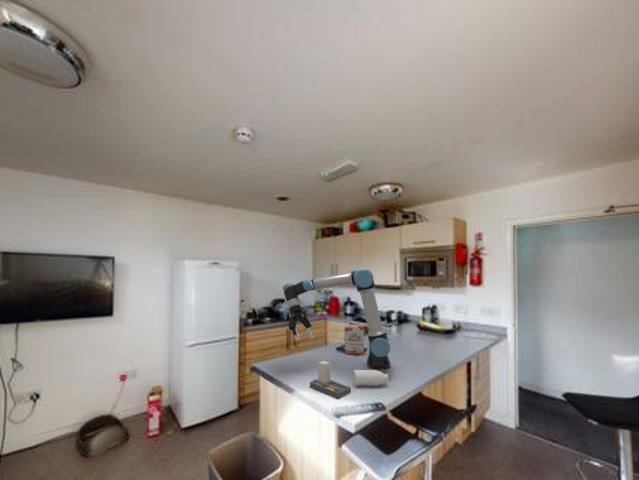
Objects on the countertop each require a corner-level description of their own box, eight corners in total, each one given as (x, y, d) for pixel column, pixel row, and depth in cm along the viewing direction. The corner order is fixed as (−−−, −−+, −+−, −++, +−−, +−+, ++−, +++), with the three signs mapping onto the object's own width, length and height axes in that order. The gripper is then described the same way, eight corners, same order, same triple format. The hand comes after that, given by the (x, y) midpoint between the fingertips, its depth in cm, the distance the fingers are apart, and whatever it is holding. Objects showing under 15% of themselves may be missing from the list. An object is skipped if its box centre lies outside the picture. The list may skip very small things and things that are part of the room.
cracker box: (345, 354, 204) (344, 325, 207) (345, 352, 210) (345, 324, 213) (364, 355, 202) (363, 326, 204) (364, 352, 208) (363, 324, 210)
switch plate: (309, 387, 148) (309, 380, 148) (322, 381, 155) (322, 375, 156) (338, 399, 134) (338, 391, 135) (350, 392, 142) (350, 385, 142)
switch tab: (318, 381, 148) (318, 362, 149) (323, 379, 151) (323, 360, 152) (325, 384, 145) (325, 364, 146) (330, 382, 148) (330, 362, 149)
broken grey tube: (390, 388, 146) (389, 373, 147) (354, 388, 146) (354, 373, 147) (386, 382, 154) (386, 367, 155) (353, 382, 154) (352, 367, 155)
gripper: (301, 309, 187) (311, 340, 178) (277, 309, 167) (286, 343, 158) (310, 304, 184) (320, 335, 175) (285, 303, 164) (296, 338, 155)
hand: (304, 339), depth 166 cm, fingers open, 13 cm apart
